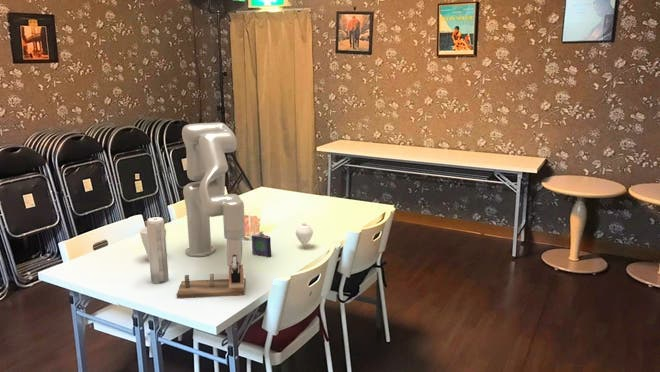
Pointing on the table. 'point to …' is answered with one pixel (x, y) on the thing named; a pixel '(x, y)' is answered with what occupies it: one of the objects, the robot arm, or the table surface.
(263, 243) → the flask
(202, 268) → the table surface
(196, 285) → the pin board
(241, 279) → the sleeve
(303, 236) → the spinning top
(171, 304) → the table surface
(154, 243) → the beige tall cylinder
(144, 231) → the cup
